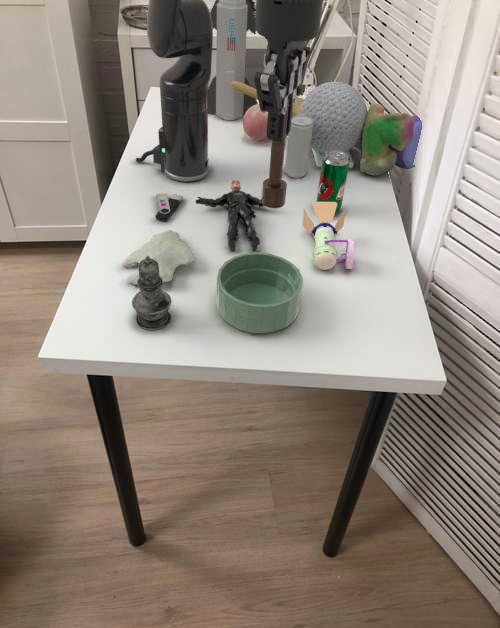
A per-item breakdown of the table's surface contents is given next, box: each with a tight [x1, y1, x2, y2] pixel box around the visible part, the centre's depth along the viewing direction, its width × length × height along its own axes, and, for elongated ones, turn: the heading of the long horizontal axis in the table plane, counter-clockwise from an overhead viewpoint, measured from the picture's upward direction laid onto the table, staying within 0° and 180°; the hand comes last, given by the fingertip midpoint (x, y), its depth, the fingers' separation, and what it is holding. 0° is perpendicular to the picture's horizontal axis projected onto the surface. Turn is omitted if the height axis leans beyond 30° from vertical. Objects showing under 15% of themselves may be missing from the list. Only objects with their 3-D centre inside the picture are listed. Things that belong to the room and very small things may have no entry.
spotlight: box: [302, 201, 355, 271], centre depth 99 cm, size 12×8×8 cm
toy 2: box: [231, 81, 305, 117], centre depth 135 cm, size 7×24×15 cm
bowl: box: [216, 251, 304, 334], centre depth 87 cm, size 13×13×6 cm
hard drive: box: [311, 148, 355, 169], centre depth 128 cm, size 2×8×12 cm
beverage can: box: [284, 116, 313, 179], centre depth 118 cm, size 5×5×12 cm
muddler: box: [261, 98, 289, 209], centre depth 75 cm, size 3×3×15 cm
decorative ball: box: [298, 81, 368, 154], centre depth 122 cm, size 15×15×15 cm
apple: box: [242, 103, 268, 141], centre depth 130 cm, size 8×8×8 cm
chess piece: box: [131, 256, 173, 332], centre depth 82 cm, size 6×6×12 cm
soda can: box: [315, 149, 350, 216], centre depth 107 cm, size 5×5×12 cm
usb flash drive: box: [154, 192, 184, 222], centre depth 108 cm, size 9×5×1 cm, turn 163°
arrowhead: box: [121, 229, 196, 286], centre depth 95 cm, size 12×3×15 cm
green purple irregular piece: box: [358, 111, 422, 170], centre depth 132 cm, size 13×12×30 cm
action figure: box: [195, 179, 265, 252], centre depth 106 cm, size 16×4×20 cm
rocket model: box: [208, 0, 259, 121], centre depth 132 cm, size 14×7×30 cm, turn 91°
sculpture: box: [359, 102, 415, 176], centre depth 118 cm, size 15×8×10 cm
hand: (278, 135), depth 74 cm, fingers closed on muddler, 2 cm apart
